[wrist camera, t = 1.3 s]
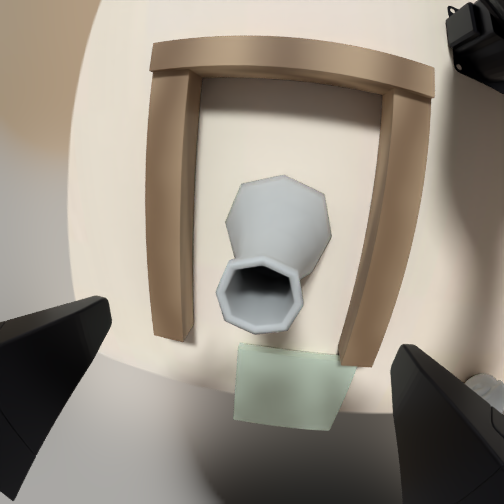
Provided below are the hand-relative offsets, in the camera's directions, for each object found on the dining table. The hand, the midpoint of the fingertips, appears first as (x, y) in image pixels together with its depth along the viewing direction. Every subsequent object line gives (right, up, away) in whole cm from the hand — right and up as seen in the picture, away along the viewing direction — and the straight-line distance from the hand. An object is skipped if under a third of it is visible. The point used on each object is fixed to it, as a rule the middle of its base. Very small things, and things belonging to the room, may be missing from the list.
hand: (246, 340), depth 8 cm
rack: (+2, +5, +11) cm, 13 cm away
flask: (+2, +4, +12) cm, 13 cm away
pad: (+4, -10, +17) cm, 20 cm away
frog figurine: (+24, -12, +14) cm, 30 cm away
